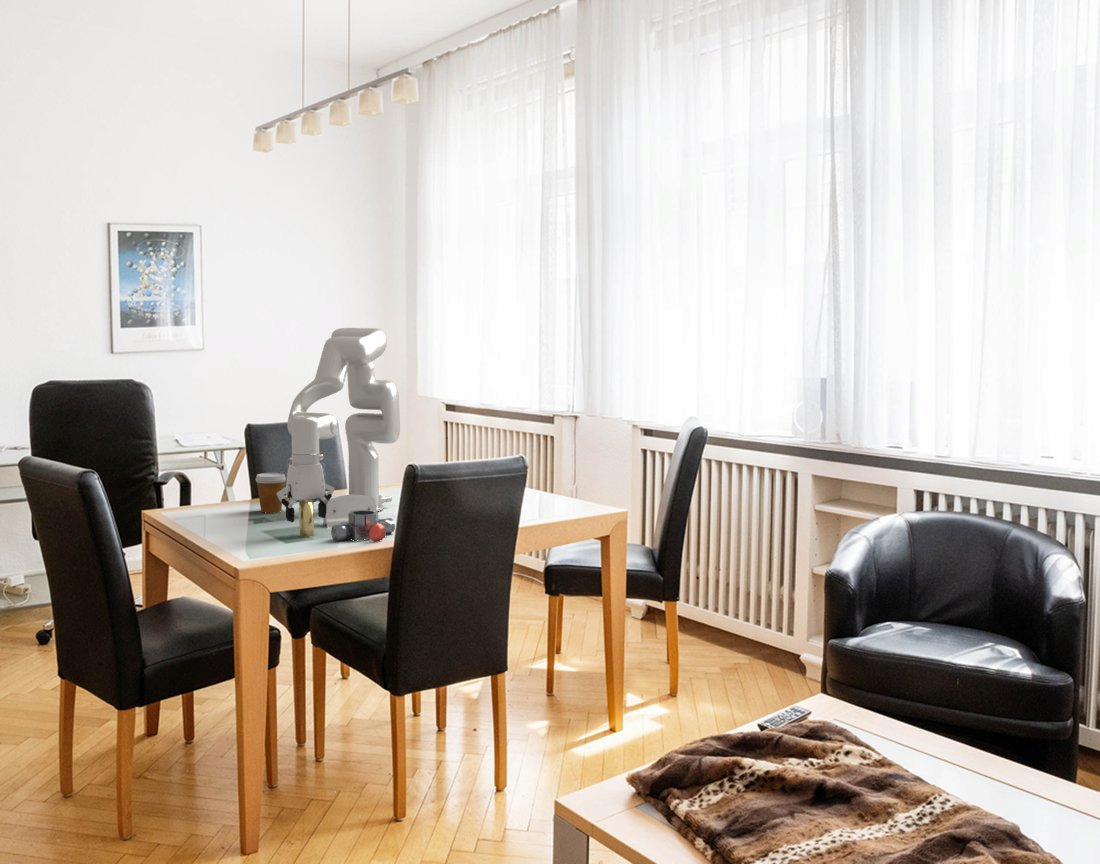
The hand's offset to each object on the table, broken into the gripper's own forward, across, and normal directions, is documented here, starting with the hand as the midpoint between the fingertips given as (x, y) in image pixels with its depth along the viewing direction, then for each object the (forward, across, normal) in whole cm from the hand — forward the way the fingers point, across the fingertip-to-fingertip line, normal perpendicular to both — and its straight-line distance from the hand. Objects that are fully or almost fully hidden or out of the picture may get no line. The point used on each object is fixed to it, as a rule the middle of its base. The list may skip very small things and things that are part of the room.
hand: (306, 519), depth 280 cm
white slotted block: (+5, -19, -8) cm, 21 cm away
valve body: (+5, -12, +13) cm, 18 cm away
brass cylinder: (+5, 0, 0) cm, 5 cm away
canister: (+5, -28, -55) cm, 62 cm away
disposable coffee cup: (+5, -8, -40) cm, 41 cm away
